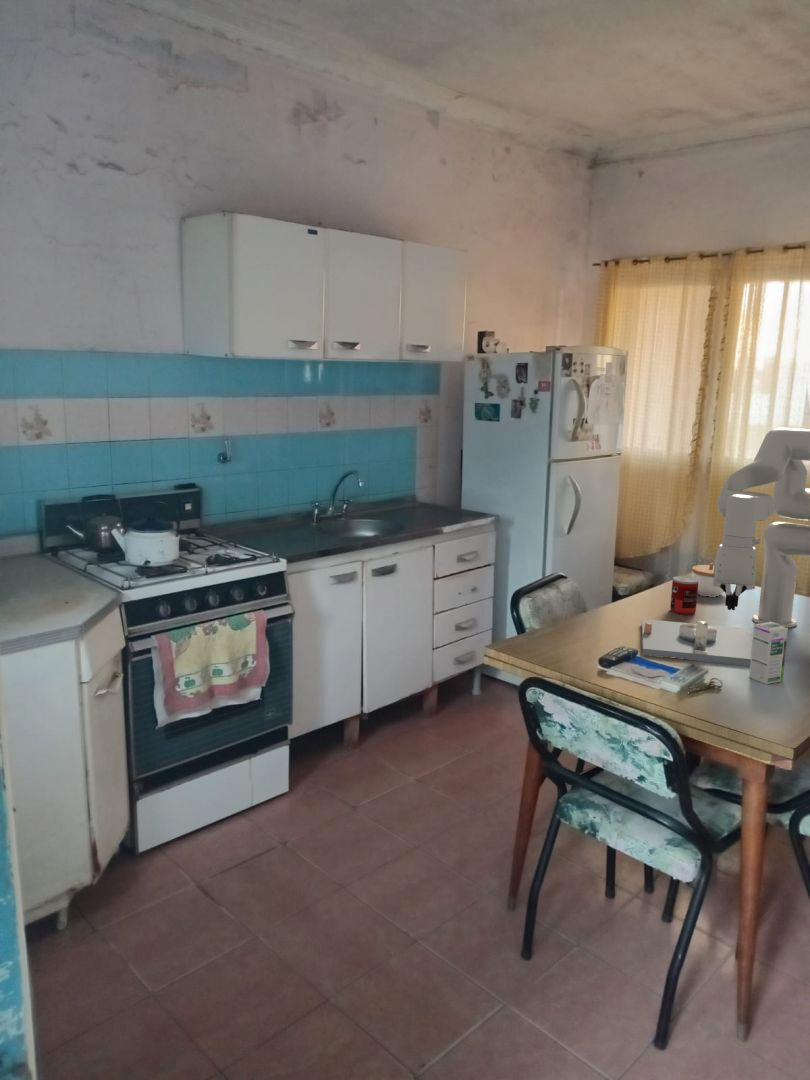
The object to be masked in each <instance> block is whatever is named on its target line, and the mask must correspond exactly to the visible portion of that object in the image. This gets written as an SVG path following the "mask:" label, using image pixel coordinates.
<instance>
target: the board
mask: <svg viewBox="0 0 810 1080" xmlns="http://www.w3.org/2000/svg"><path fill="white" fill-rule="evenodd" d="M683 624H693V622H692V623H690V622H681V621H680V622H678V621H668V620H667V621H666V620H657V619H648V618H647V619H646V618H642V619H641V637H642V638H641V642H642V643H641V645H642V646H641V647H642V648H641V649H643V650H642V656H643V655H651V656H650V657H652V656H662V657H675V658H683V659H689V660H688V661H692V660H699V661H698V662H703V661H708V662H707V663H713V662H714V663H715V664H716V663H717V664H723V663H724V664H725V665H734V666H744V667H750V663H751V652H752V640H753V637H752V636H751V634H750V631H749V629H748V628H747V627H735V626H726V625H725V626H724V625H714V624H713V625H712V624H708V626H710V627H713V628H715V629H716V630H717V635H716V641H715V642H712V643H706V650H704V651H700V650H696V649H694V645H695V644H694V642H690V641H686V640H684V639H682V638H680V637H679V629H680V626H681V625H683ZM662 657H661V658H662Z"/></svg>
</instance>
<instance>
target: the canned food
mask: <svg viewBox="0 0 810 1080" xmlns="http://www.w3.org/2000/svg"><path fill="white" fill-rule="evenodd" d="M697 601H698V579H696V578H693V577H692V576H686V575H679V576H678V575H677V576H673V577H672V583H671V596H670V611H671V613H673V612H674V614H676V613H677V615H680V614H683V615H682V616H692V615H691V614H693V615H694V613H697V612H696V611H697V603H698V602H697Z"/></svg>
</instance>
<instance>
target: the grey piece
mask: <svg viewBox="0 0 810 1080" xmlns="http://www.w3.org/2000/svg"><path fill="white" fill-rule="evenodd" d="M708 625H709V622H708V621H705V620H697V621H696V623H692V624H683V625H681V626H680V629H679V637H680V638H682V639H684V640H686V641H690V642H694V644H695V645H694V649H696V650H700V651H704V650H706V643H712V642H715V641H716V635H717V630H716V629H715V628H713V627H710V626H708Z"/></svg>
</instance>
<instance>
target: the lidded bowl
mask: <svg viewBox="0 0 810 1080" xmlns="http://www.w3.org/2000/svg"><path fill="white" fill-rule="evenodd" d="M714 566H715V564H714V563H711V562H710V563H709V564H698V565H694V566H692V568H691V577H693V578H696V579H698V593H697V595H699V594H700V595H699V596H702V595H703V596H702V597H706V596H709V597H708V598H717V597H716V596H718V597H720V596H721V595H722V594H723V593H725V592H724V591H723V590H722V589H721V588H719V587H716V586H713V585H712V581H713V579H714ZM719 595H720V596H719Z"/></svg>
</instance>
